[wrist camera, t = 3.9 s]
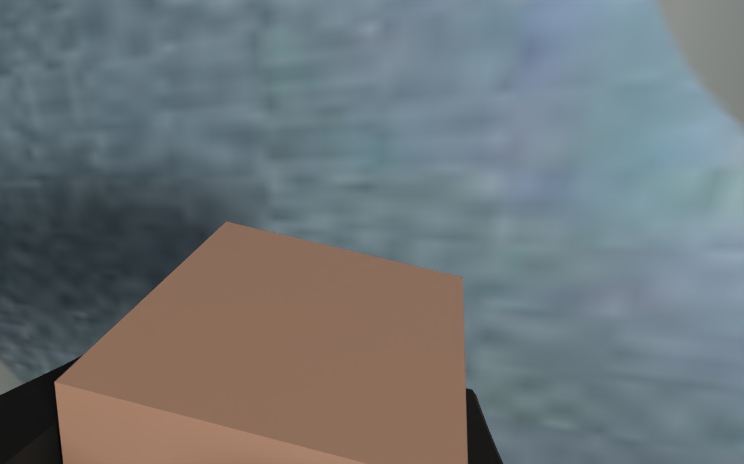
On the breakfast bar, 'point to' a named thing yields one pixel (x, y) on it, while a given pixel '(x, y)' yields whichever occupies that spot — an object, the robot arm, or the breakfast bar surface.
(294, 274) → the terracotta cube
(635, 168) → the breakfast bar surface
